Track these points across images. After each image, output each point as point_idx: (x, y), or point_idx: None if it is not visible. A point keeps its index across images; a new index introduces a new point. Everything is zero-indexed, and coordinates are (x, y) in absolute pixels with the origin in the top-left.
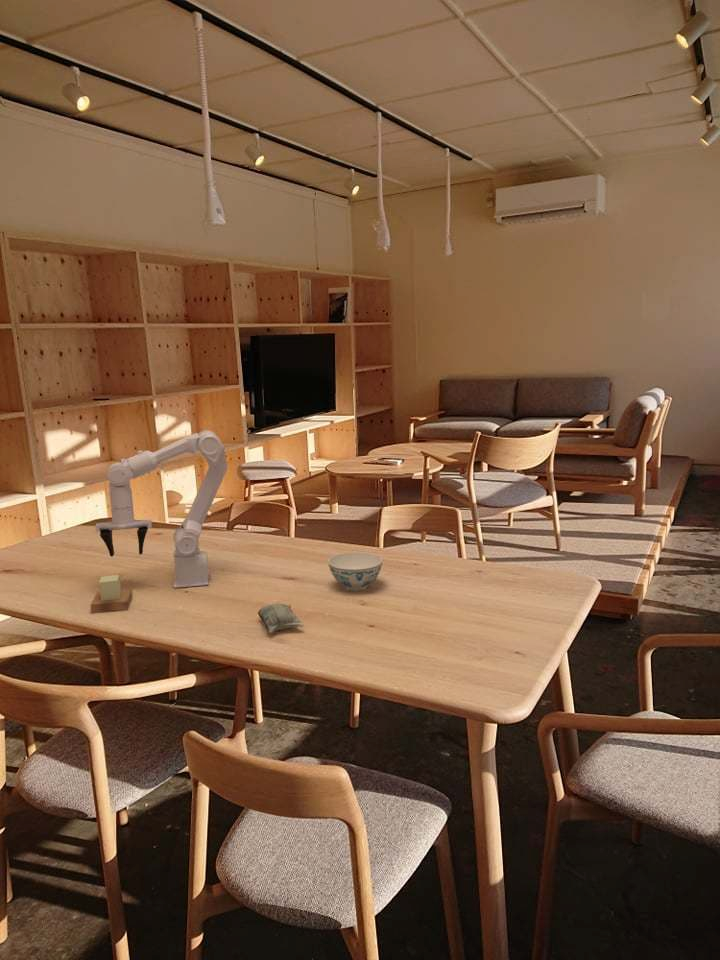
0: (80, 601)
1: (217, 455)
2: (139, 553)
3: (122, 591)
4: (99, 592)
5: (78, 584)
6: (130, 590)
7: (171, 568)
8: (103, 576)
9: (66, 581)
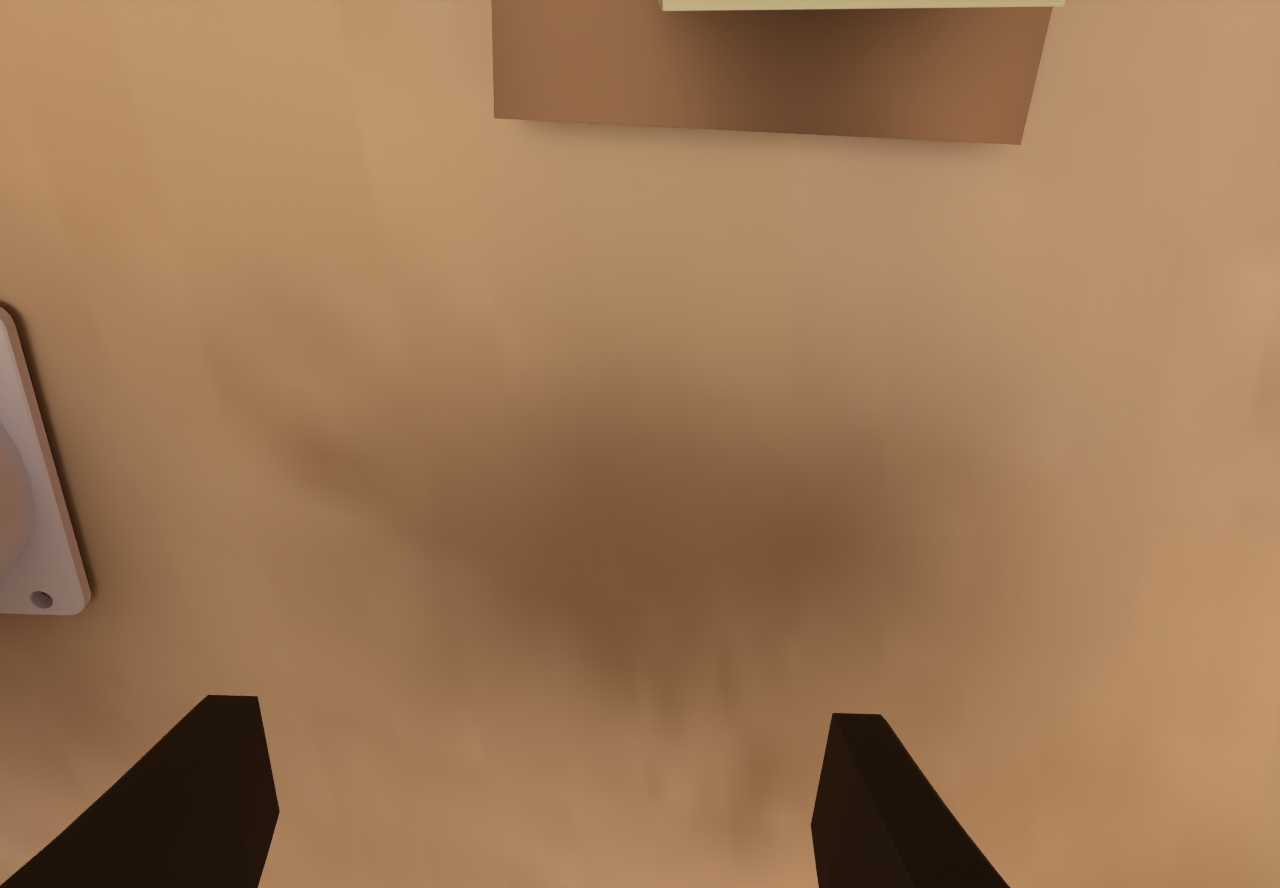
0: (1193, 170)
1: None
2: (243, 709)
3: (632, 47)
4: (986, 114)
5: (1141, 707)
6: (507, 57)
7: None
8: (1013, 5)
9: (1240, 802)
